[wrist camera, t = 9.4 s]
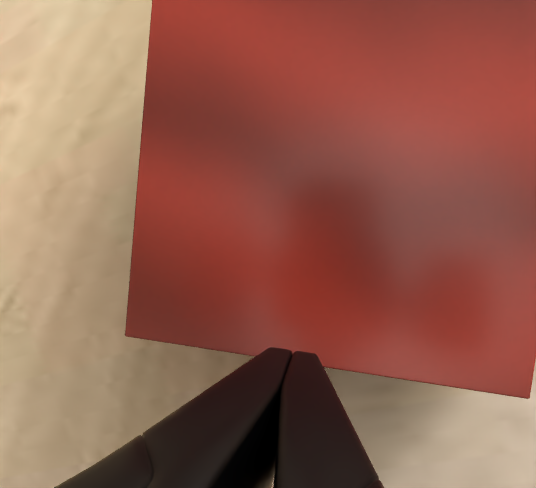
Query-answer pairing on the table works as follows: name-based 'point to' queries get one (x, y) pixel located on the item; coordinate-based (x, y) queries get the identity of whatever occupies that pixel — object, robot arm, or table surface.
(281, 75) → the lid
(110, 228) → the table surface
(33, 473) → the table surface
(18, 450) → the table surface
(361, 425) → the table surface
